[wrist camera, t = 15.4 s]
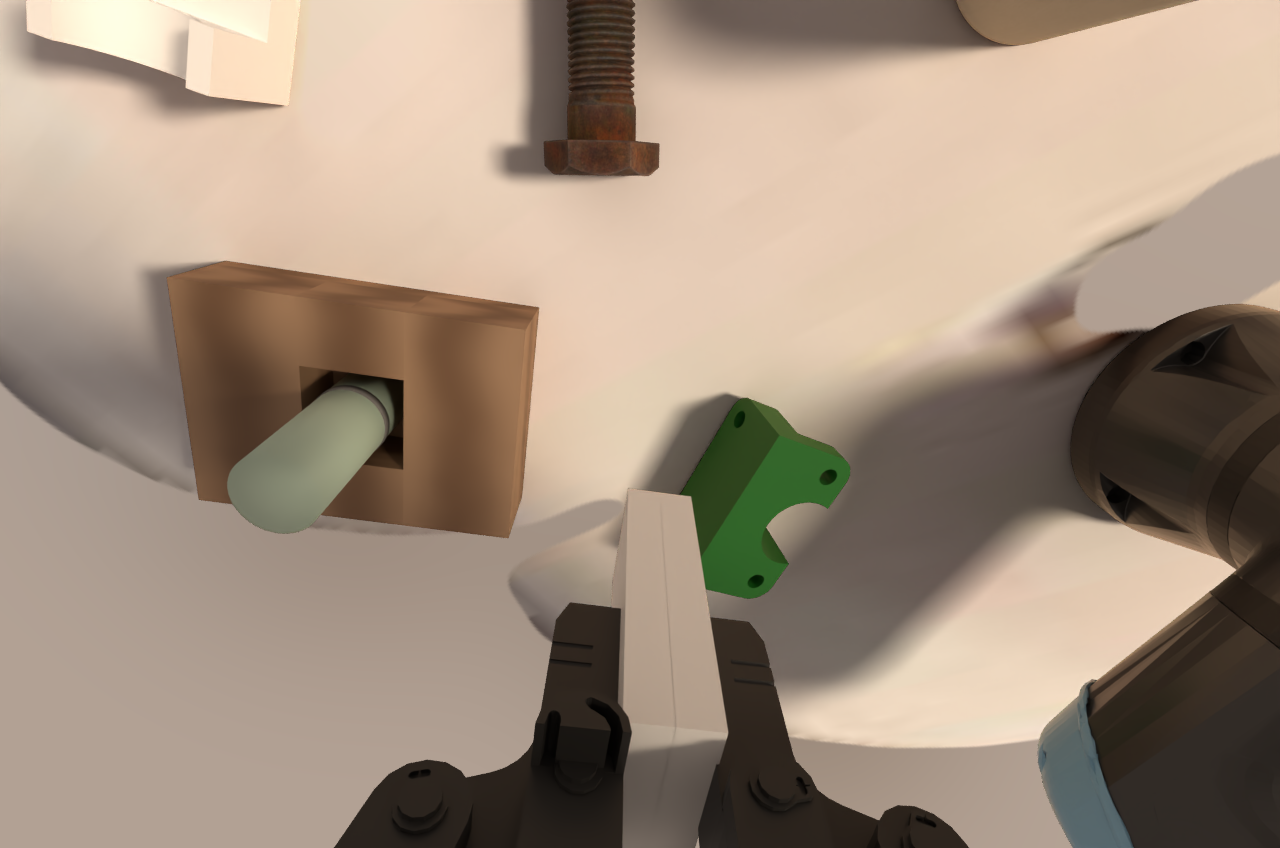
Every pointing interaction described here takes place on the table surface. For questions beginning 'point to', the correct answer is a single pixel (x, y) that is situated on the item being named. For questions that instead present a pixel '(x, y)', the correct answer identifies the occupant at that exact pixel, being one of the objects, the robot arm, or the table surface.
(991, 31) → the travel mug
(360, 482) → the board
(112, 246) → the table surface
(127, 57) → the bracket
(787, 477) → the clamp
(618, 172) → the bolt
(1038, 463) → the table surface
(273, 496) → the peg
